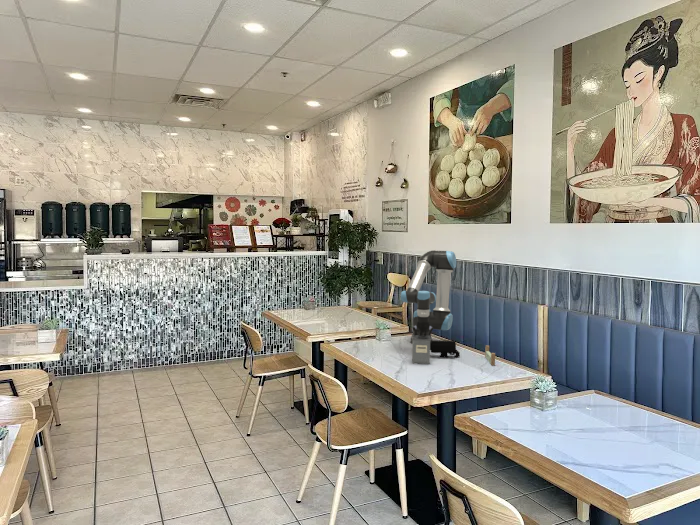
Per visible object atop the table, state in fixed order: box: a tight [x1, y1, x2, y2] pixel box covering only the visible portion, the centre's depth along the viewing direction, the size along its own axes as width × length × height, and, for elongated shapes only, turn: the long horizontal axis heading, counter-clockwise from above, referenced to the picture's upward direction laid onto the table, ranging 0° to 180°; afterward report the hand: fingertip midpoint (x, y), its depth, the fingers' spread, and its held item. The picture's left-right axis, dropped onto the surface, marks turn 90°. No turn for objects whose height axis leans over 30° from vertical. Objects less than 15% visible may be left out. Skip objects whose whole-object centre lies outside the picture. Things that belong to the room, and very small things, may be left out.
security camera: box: [430, 339, 461, 359], centre depth 325 cm, size 7×18×10 cm, turn 89°
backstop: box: [484, 345, 496, 367], centre depth 317 cm, size 21×2×7 cm, turn 175°
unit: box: [411, 334, 431, 365], centre depth 314 cm, size 11×11×15 cm
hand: (422, 353), depth 327 cm, fingers closed
